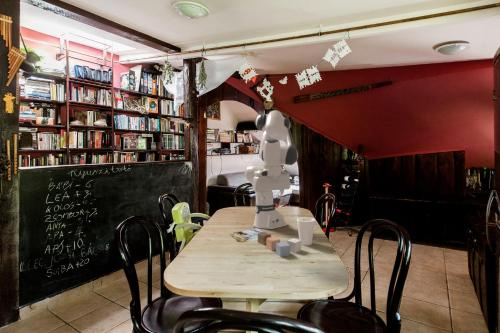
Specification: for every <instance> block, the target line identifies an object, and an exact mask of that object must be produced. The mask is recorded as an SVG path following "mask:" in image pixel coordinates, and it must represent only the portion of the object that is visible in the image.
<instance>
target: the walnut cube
mask: <svg viewBox="0 0 500 333" xmlns="http://www.w3.org/2000/svg"><path fill="white" fill-rule="evenodd" d="M270 237H272V234H271V233H270V232H266V231H263V232H259V233H257V243H258V244H260V245H262V246H265V245H266V238H270Z"/></svg>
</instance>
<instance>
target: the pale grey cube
mask: <svg viewBox="0 0 500 333" xmlns="http://www.w3.org/2000/svg"><path fill="white" fill-rule="evenodd" d="M286 243H287V244H289V245H290V252H293V253H295V254H296V253H297V252H301V251H302V245H301V240H299V238H294V237H293V238H290V239H288V240H287V241H286Z"/></svg>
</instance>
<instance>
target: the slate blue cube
mask: <svg viewBox="0 0 500 333" xmlns="http://www.w3.org/2000/svg"><path fill="white" fill-rule="evenodd" d="M275 254H276V255H278V257H280V258H282V257H287V256H288V257H289V256H291V251H290V245H289V244H287V241H283V242H280V243H276V250H275Z"/></svg>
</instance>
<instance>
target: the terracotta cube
mask: <svg viewBox="0 0 500 333" xmlns="http://www.w3.org/2000/svg"><path fill="white" fill-rule="evenodd" d="M276 243H281V239H280V238H278V237H276V236H271V237H270V238H266V246H265V247H266V249H268V250H270V251H276Z"/></svg>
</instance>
